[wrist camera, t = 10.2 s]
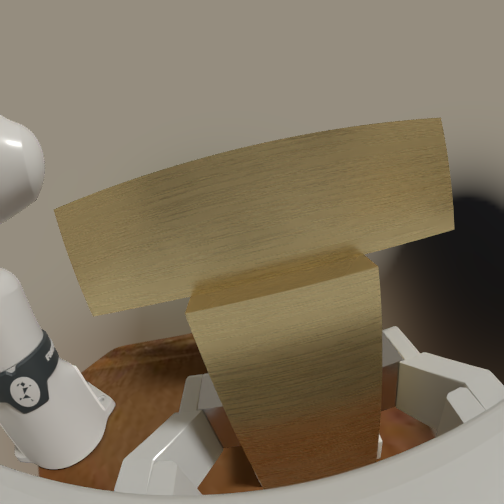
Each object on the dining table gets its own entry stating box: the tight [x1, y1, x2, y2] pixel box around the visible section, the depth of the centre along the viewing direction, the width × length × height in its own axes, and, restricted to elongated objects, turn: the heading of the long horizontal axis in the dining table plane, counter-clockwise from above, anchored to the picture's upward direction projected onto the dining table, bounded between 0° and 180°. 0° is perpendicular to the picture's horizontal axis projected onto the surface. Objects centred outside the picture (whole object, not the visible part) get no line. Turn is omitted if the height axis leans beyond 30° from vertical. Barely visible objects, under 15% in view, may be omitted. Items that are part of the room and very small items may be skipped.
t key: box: [54, 118, 454, 490], centre depth 8 cm, size 8×3×14 cm, turn 92°
